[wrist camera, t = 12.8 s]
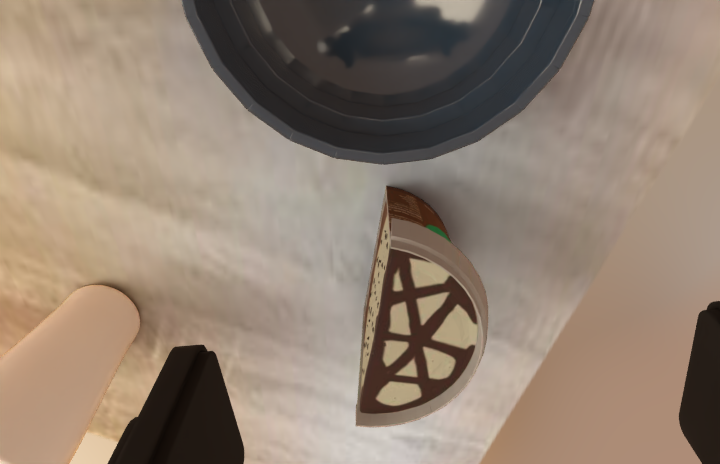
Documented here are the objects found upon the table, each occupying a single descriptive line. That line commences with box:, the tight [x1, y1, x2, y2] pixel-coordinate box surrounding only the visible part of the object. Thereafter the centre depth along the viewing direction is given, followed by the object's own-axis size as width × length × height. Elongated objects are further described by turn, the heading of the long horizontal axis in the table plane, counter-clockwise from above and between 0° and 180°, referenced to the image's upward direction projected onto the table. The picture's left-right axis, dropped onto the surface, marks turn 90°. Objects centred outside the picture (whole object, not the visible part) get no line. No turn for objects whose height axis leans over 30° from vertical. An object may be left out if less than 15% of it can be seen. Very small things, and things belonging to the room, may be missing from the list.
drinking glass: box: [0, 285, 140, 464], centre depth 33 cm, size 7×7×15 cm
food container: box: [356, 186, 488, 427], centre depth 32 cm, size 12×6×10 cm, turn 172°
